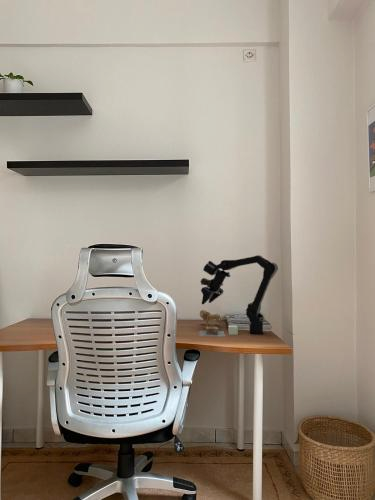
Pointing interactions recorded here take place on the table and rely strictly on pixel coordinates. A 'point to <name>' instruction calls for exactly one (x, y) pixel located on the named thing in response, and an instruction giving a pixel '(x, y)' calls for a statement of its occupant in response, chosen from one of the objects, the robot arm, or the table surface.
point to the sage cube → (232, 330)
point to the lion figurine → (210, 317)
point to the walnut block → (212, 330)
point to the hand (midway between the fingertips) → (205, 303)
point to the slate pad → (220, 333)
